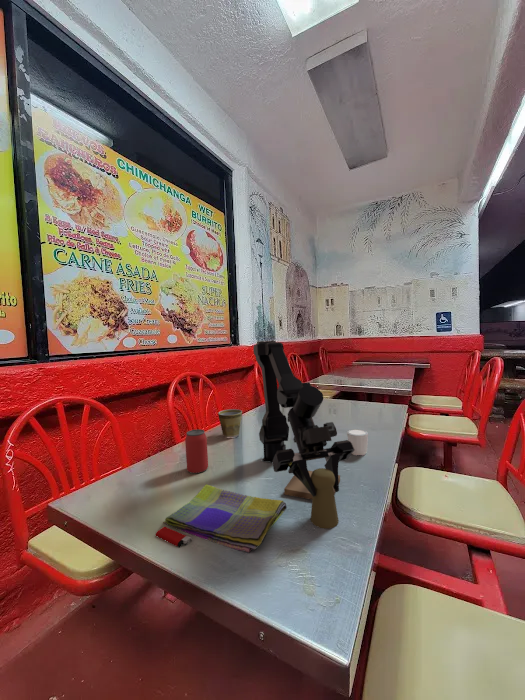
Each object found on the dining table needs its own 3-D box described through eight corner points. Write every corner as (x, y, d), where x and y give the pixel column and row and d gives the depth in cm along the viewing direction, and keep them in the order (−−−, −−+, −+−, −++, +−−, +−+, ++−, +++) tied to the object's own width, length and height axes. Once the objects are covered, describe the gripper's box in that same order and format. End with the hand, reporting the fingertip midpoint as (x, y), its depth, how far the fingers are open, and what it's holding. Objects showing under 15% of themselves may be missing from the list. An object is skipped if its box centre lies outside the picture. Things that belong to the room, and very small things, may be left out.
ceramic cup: (242, 439, 121) (241, 414, 121) (217, 440, 122) (216, 415, 121) (244, 429, 134) (243, 407, 134) (222, 430, 134) (221, 408, 134)
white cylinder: (346, 455, 101) (345, 434, 100) (348, 447, 107) (348, 428, 107) (368, 457, 98) (367, 436, 98) (369, 449, 104) (368, 429, 104)
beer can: (212, 468, 95) (210, 431, 95) (194, 476, 90) (192, 436, 90) (200, 463, 100) (198, 427, 99) (182, 470, 95) (180, 432, 94)
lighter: (165, 525, 66) (192, 536, 62) (166, 530, 66) (192, 542, 62) (155, 532, 63) (181, 545, 59) (155, 538, 63) (182, 551, 59)
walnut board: (284, 494, 78) (284, 488, 77) (298, 474, 88) (298, 469, 88) (331, 503, 73) (330, 497, 72) (340, 480, 83) (340, 475, 83)
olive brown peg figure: (339, 529, 63) (337, 478, 62) (309, 527, 64) (307, 476, 63) (338, 512, 68) (336, 465, 68) (311, 511, 70) (309, 464, 69)
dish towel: (208, 490, 83) (207, 480, 83) (291, 509, 72) (290, 497, 72) (160, 527, 67) (159, 515, 67) (257, 559, 56) (256, 545, 56)
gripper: (273, 415, 66) (294, 488, 56) (348, 406, 71) (380, 471, 61) (265, 439, 74) (282, 506, 64) (333, 429, 79) (359, 490, 69)
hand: (326, 493), depth 65 cm, fingers closed on olive brown peg figure, 5 cm apart
